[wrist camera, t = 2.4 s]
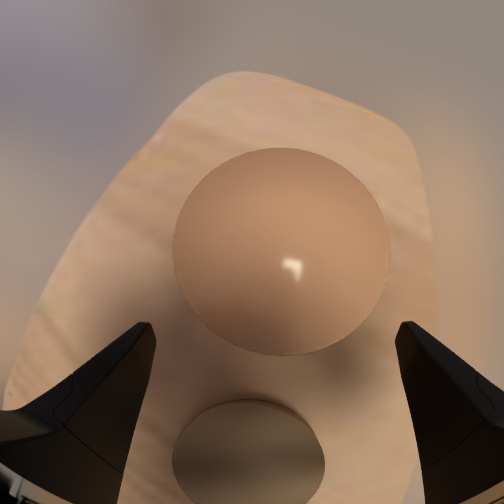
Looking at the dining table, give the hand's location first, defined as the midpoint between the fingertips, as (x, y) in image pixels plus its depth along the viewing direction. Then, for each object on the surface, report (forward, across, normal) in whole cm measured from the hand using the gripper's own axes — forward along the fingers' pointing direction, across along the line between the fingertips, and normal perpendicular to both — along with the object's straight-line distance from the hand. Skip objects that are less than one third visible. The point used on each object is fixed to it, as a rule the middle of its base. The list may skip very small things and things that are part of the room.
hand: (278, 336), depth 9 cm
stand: (0, +1, +13) cm, 13 cm away
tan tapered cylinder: (+8, 0, +5) cm, 10 cm away
